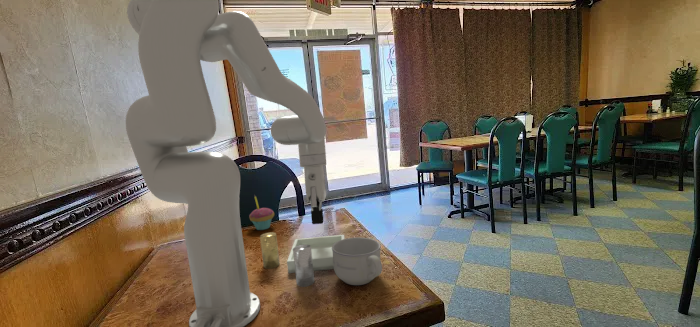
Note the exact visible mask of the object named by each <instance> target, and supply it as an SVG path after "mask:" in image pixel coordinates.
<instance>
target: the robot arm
mask: <svg viewBox="0 0 700 327" xmlns="http://www.w3.org/2000/svg"><path fill="white" fill-rule="evenodd" d="M219 4H220V3H219V0H129V2H128V4H127V8H126V9H127V10H126V14H127V18H128V21H129V23H130V25H131V27H132V28H133V30H134V31H135V33H137V34H138V44H137V47H138V48H137V52H138V58H139V63H140V67H141V71H142V75H143V78H144V82H145V86H146V88H147V92H148V95H145V96H143V97H140V98H138V99H136V100H135V101H134V102H133V103H132V104H131V105H130V106H129V107H128V109H127V111H126V116H125V131H126V135H127V138H128V141H129V144H130V145H131V148H132V151H133V154H134V157H135V160H136V162H137V164H138V168H139V171H140V173H141V175H142V178H143V180H144V182H145V185H146V187H147V189H148V191H149V192H151V194H152V195H153V196H154V197H155V198H157V199H158V200H161V201H162V202H166V203H173V204H184V205H187V212H186V216H185V220H184V225H183V234H184V236H183V237H184V241H185V246H186V247H185V248H186V252H187V259H188V264H189V265H188V266H189V271H190V276H191V283H192V288H193V289H192V290H193V295H194V296H193V297H194V301H195V307H196V309H195V310H194V311H193V312H192V314H191V315H190V317H189V319H188V320H189V321H188V325H189V327H245V326H247V325H248V324H249V323H250V322H252V321H254V319H255V318H256V316H257V315H258V314H259V312H260V309H261V301H260V298H259V296H258V295H256V294H254V293H253V292H251V290H250V282H249V275H248V268H247V261H246V252H245V246H244V245H245V244H244V237H243V232H242V225H241V224H242V223H241V217H240V215H241V214H240V213H241V211H240V194H241V191H240V190H241V173H240V170H239V166H238V165H237V164H236V162H235V161H234V160H233V159H232V158H231V157H229V156H228V155H226V154H224V153H222V152H217V151H216V152H215V151H191V152H189V150H188V148H187V147H194V146H199V145H203V144H206V143H208V142H209V141H210V140H212V138H213V137H214V136H215V134H216V132H217V120H216V116H215V111H214V109H213V108H214V107H213V104H212V100H211V97H210V94H209V89H208V86H207V83H206V80H205V75H204V73H203V69H202V63H201V61H202V62H207V63H217V62H221V61H222V62H223V61H226V60H227V61H228V62H229V64H230V65H231V67H232V68H233V70H234V71H235V72H236V74H237V76H238V78H240V80H241V82H242V83H243V86H244V87H245V88H246V90H247V91H248V92H249V93H250V95H252V96H254V97H257V98H259V99H262V100H264V101H267V102H270V103H273V104H277V105H280V106H282V107H284V108H286V109H288V110H290V112H292V113H294V114H295V115H285V116H281V117H278V118H277V119H275V120H274V121H273V122H272V124H271V126H270V134H271V137H272V139H273V140H274V141H275V142H276V143H278V144H280V145H283V146H295V145H296V146H297V145H298V148H297V149H298V157H299V158H298V159H299V167H300V168H303V170H304V172H303V173H304V186H305V197H306V201H307V202H308V203H310V208H311V209H310V213H311V214H310V215H311V224H312V225H323V223H324V211H323V210H324V209H323V206H322V205H323V202H324V201H325V200H326V197H327V190H326V179H325V176H326V175H325V169H324V168H325V167H324V166H327V153H326V140H325V137H326V134H327V126H326V122H325V119H324V116H323V114H322V112H321V110H320V108H319V106H318V104H317V102H316V100H315V99H314V97H313V96H312V95H311V94H310V93H309V92H308V91H306V90H305V89H304V88H303V87H301V86H300V85H299V84H297V83H296V82H294V81H293V80H292V79H290V78H288V77H286V76H285V75H284V74H283V73H282V71H281V70H280V67H279V66H278V63H277V62H276V60H275V59H274V57H273V55H272V53H271V51H270V49H269V48H268V46H267V44H266V42H265V40H264V39H263V37H262V35H261V33H260V31H259V30H258V28H257V26H256V25H255V22H254V21H253V20H252V19H251V17H250V16H249V15H248V14H246V13H245V12H242V11H237V10H232V11H227V12H222V13H219V9H220V5H219Z"/></svg>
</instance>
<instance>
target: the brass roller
mask: <svg viewBox="0 0 700 327" xmlns="http://www.w3.org/2000/svg"><path fill="white" fill-rule="evenodd" d="M259 239H260V247H261V254H262V264H263V268H264V269H271V270H272V269H275V268H277V267H279V266H280V262H281V261H280V255H279V247H278V246H279V245H278V238H277V233H276V232H275V231H274V232H265V233H262V234H261V235H259Z"/></svg>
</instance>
